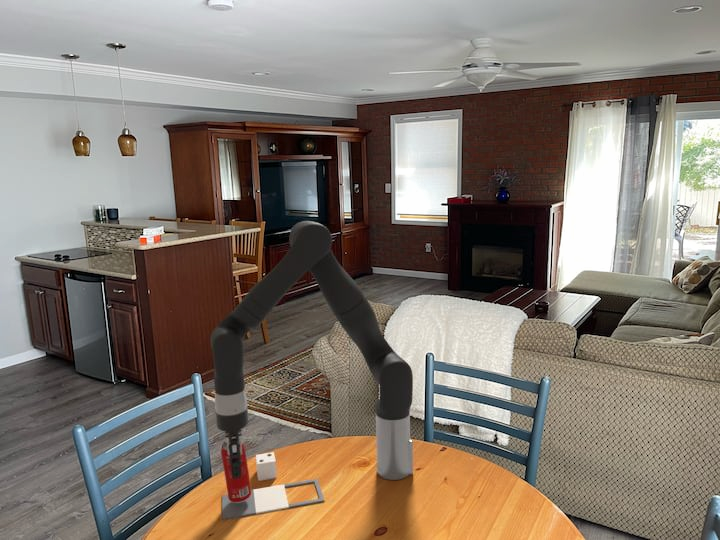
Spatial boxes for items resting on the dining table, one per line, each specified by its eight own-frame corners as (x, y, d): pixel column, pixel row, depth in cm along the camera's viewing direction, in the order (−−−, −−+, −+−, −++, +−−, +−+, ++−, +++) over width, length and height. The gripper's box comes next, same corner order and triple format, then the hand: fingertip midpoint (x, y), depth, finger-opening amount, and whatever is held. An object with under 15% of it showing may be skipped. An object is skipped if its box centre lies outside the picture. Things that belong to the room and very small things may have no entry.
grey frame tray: (317, 480, 144) (317, 478, 144) (324, 501, 134) (324, 500, 134) (222, 496, 138) (222, 494, 137) (222, 520, 128) (222, 518, 128)
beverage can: (256, 493, 135) (251, 438, 133) (240, 507, 129) (235, 451, 127) (237, 488, 138) (232, 434, 135) (220, 502, 132) (215, 446, 129)
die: (274, 468, 150) (273, 451, 149) (276, 477, 145) (275, 460, 144) (256, 471, 149) (255, 454, 148) (258, 481, 144) (257, 463, 143)
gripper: (248, 417, 123) (253, 484, 126) (245, 393, 137) (250, 454, 140) (215, 422, 121) (221, 489, 124) (215, 397, 135) (220, 458, 138)
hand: (236, 470), depth 132 cm, fingers closed on beverage can, 5 cm apart
